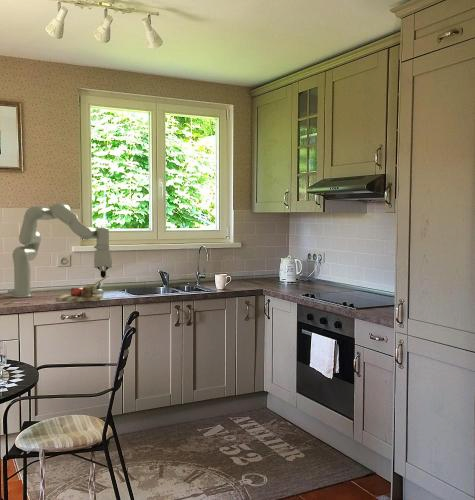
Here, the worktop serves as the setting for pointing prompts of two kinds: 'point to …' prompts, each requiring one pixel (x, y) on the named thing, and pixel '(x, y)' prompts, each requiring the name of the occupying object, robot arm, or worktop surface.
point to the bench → (78, 298)
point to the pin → (78, 290)
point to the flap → (99, 281)
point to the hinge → (98, 286)
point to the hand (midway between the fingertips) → (103, 277)
